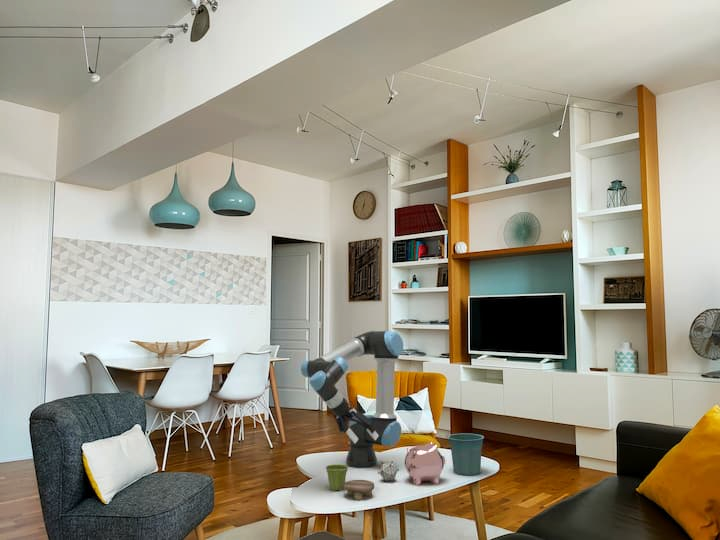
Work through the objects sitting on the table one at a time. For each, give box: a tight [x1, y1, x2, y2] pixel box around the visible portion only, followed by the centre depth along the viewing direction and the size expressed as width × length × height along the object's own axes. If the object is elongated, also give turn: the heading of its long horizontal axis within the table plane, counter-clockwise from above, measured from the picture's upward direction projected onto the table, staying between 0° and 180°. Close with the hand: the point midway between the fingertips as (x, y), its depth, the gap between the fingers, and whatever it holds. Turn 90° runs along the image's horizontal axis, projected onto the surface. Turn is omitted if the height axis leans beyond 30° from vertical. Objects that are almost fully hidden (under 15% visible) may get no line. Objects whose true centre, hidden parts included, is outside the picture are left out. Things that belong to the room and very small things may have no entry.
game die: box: [377, 461, 400, 483], centre depth 240 cm, size 9×8×10 cm
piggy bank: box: [404, 440, 446, 486], centre depth 240 cm, size 15×18×16 cm
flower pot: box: [447, 432, 485, 476], centre depth 254 cm, size 16×16×16 cm
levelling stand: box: [343, 479, 375, 501], centre depth 219 cm, size 12×12×4 cm
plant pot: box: [325, 464, 349, 491], centre depth 229 cm, size 9×9×9 cm
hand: (366, 439), depth 237 cm, fingers open, 13 cm apart
